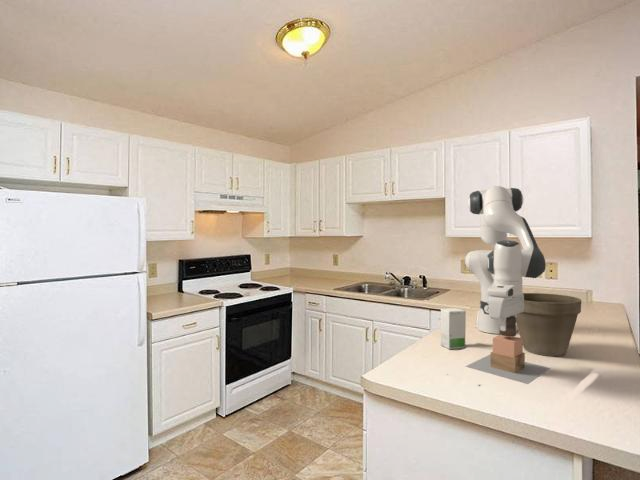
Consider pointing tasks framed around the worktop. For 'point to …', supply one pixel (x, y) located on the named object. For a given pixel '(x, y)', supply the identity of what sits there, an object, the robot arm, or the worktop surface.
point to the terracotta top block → (508, 345)
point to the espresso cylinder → (509, 327)
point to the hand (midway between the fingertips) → (507, 328)
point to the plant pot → (547, 322)
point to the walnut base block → (508, 362)
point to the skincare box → (453, 328)
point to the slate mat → (522, 376)
